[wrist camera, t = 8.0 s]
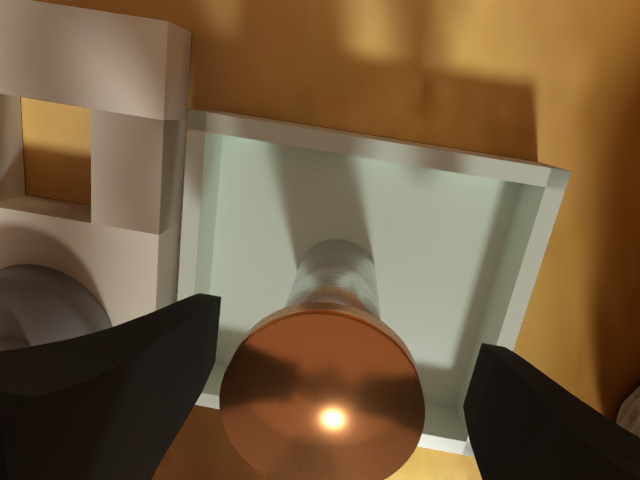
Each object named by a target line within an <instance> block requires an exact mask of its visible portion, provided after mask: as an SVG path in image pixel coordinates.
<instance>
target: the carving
mask: <svg viewBox="0 0 640 480" xmlns="http://www.w3.org/2000/svg"><path fill="white" fill-rule="evenodd" d="M616 424H618V425H619V426H621V427H623V428H624V429H626V430H628V431H629V432H631V433H633V434H635V435H636V436H638V437H640V386H639V387H637V388H636V389H635V390H634V391H633V392H632V393H631V394H630V395H629V396H628V397H627V398H626V399H625V400H624V401H623V403H622V405H621V407H620V409H619V412H618V416H617V420H616Z"/></svg>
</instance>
